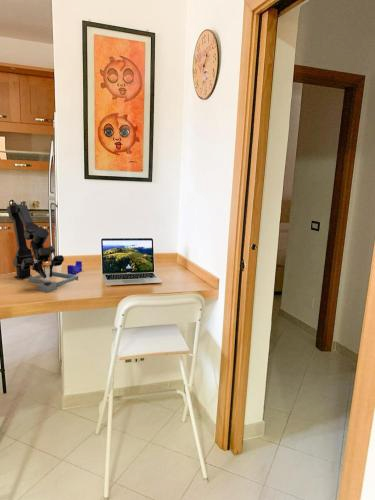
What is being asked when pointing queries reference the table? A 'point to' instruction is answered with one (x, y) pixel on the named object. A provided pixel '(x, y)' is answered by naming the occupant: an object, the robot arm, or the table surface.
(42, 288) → the lock block
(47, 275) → the lock pin
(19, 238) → the robot arm
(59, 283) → the tray
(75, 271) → the cable clip
